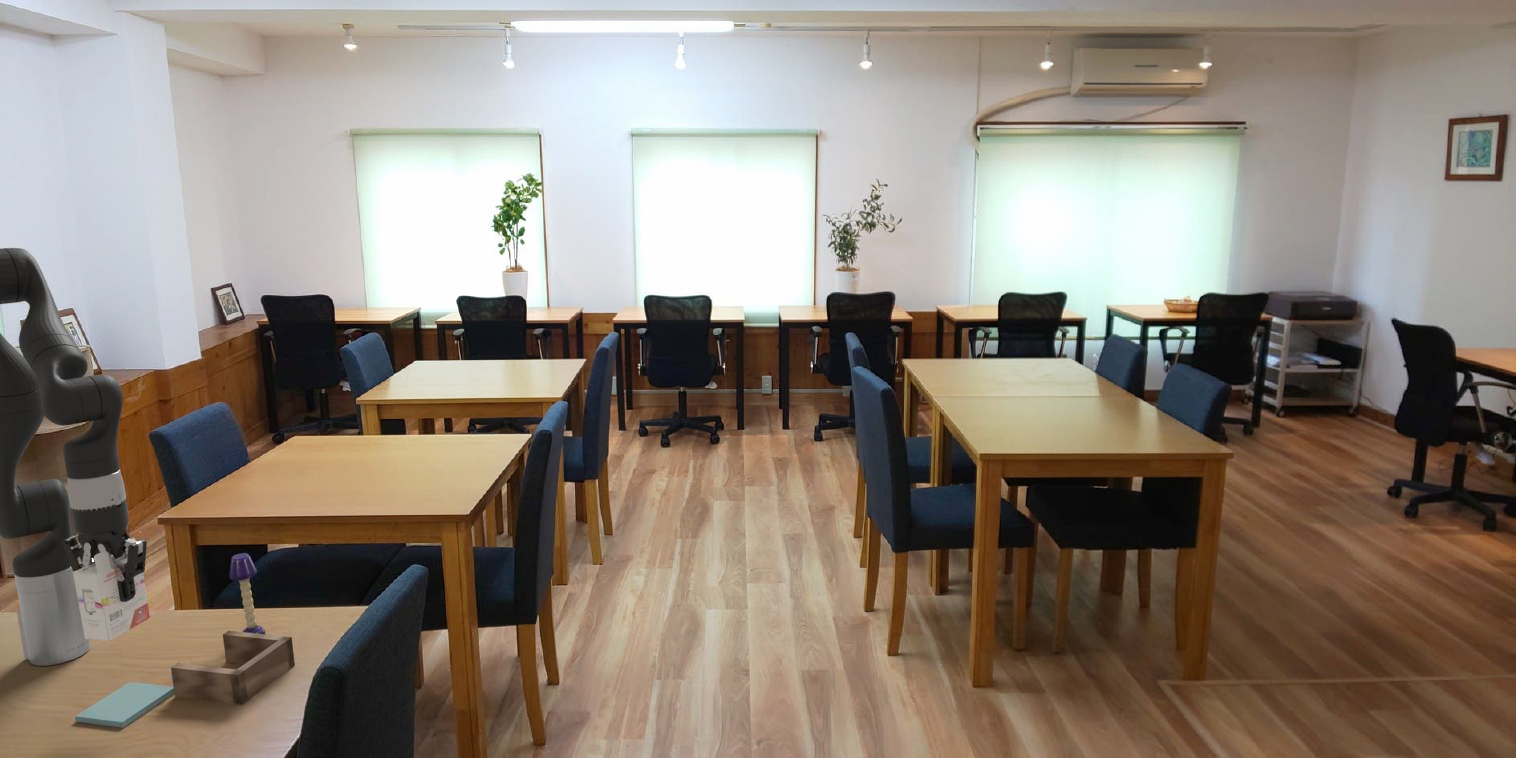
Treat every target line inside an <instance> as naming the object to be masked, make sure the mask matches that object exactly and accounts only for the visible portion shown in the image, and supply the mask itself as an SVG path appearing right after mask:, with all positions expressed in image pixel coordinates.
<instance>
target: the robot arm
mask: <svg viewBox="0 0 1516 758" xmlns="http://www.w3.org/2000/svg"><path fill="white" fill-rule="evenodd" d="M22 302H26V303H27V304H28V307H29V308H28V313H27V315H26V317H25V318H24V319H25V320H24V321H23V323H22V326H21V328H20V332H19V336H18V344H19V345H18V346H19V349H20V351H18V350H17V349H16V348H15V347H14V346H13V345H12V344H11V343H10V342H9V341H8V340H7V338H5V337H4V335H3V334H2V333H1V332H0V537H1V538H3V539H4V540H5V539H6V540H13V539H20V538H23V537H27V536H28V537H29V536H33V535H38V534H42V533H46V534H45V535H44V536H43V537H41V539H39V541H37V542H36V543H34V544H33V545H31V546H29V547H28V548H25V549H23V550H22V551H20V552H19V553H17V554H16V555H15V556H14V557H13V559H12V570H13V575H14V581H15V585H16V586H15V587H16V592H17V597H18V603H19V608H20V609H18V610H17V611H16V616H17V620H18V621H17V623H18V628H19V632H20V633H19V634H20V639H21V644H22V651H23V656H24V660H27V661H29V663H30V664H32V665H35V666H42V667H43V666H51V665H59V664H63V663H66V662H70V661H71V660H74V659H77V658H79V657H81V656H83V655H85V654H86V653H87V652H88V651H89V650H90V648H91V645H90V639H85V636H84V631H83V625H82V620H81V614H80V609H79V603H78V598H77V592H76V586H75V581H74V575H73V572H74V571H76V570H79V569H81V568H83V567H85V566H90V565H92V564H94V563H95V560H94V556H95V555H96V554H98V553H101V552H103V551H106V552H107V553H108V557H109V561H110V562H111V563H110V565H111V568H112V569H114V570H115V574H116V576H117V578H118V580H119V581H117V583H118V590H119V596H120V601H121V602H127V601H129V600H131V599H133V598H134V596H135V594H136V591H135V584H134V577H135V576H137V575H139V574H141V573H143V574H144V572H145V569H146V559H147V546H148V545H147V544H148V542H147V540H145V539H143V538H142V539H139V540H137V539H136V540H133V539H132V538H131V536H130V534H129V533H128V531H127V527H128V525H129V522H130V516H129V515H130V514H129V508H128V501H127V494H126V487H125V482H124V478H123V476H122V473H121V467H120V466H121V465H120V461H119V460H120V459H119V453H118V435H119V429H120V428H119V427H120V422H121V417H122V411H123V407H124V394H123V390H122V387H121V385H120V384H119V382H118V381H117V380H116V379H115V378H114V377H113V376H111V375H108V374H94V375H90V376H85V375H86V374H87V371H88V361H87V359H86V357H85V355H84V354H83V352H82V350H81V349H80V348H79V346H78V345H77V343H76V341H75V340H74V339H73V337H72V336H71V335H70V333H69V331H68V330H67V328H66V326H65V324H64V322H63V319H62V317H61V314H60V312H59V309H58V307H57V304H56V302H55V300H54V297H53V294H52V292H51V289H50V288H49V285H48V282H47V280H46V277H45V276H44V273H43V271H42V269H41V267H40V265H39V263H38V262H37V260H36V259H35V257H34V256H33V255H32V253H31V252H29V251H28V250H26V249H25V248H20V247H5V248H4V247H2V248H0V305H6V304H7V305H8V304H15V303H17V304H18V303H22ZM44 418H46V419H47V420H48V421H49V422H51V423H53V424H54V425H58V426H65V427H66V426H72V425H78V424H81V423H82V424H83V423H88V422H92V425H91V426H90V428H89V429H88V430H87V431H86V432H84V433H82V434H80V435H77V436H74V437H72V438H70V439H68V440H67V441H65V443H64V444H63V447H62V451H63V452H62V454H63V459H64V464H65V471H66V479H67V481H66V482H67V484H66V486H65V484H64V482H62V481H61V480H59V479H57V478H50V479H45V480H39V481H32V482H28V483H23V484H17V485H15V480H16V474H17V470H18V466H19V464H20V462H21V459H22V457H23V455H24V453H25V451H26V449H27V448H28V446H29V444H31V441H32V440H33V439H34V437H35V435H36V434H37V432H38V431H39V428H40V427H41V425H42V423H43V421H44ZM72 528H73V529H72ZM73 532H74V533H76V534H74V535H73ZM123 554H125V558H124V559H123V560H120V561H118V562H117V561H116V560H115V559H117V558H119V557H121V556H122V555H123ZM79 558H80V562H81V563H80V562H79ZM123 564H124V565H125V570H126V571H125V572H124V571H123V569H122V567H121V566H122V565H123Z"/></svg>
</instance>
